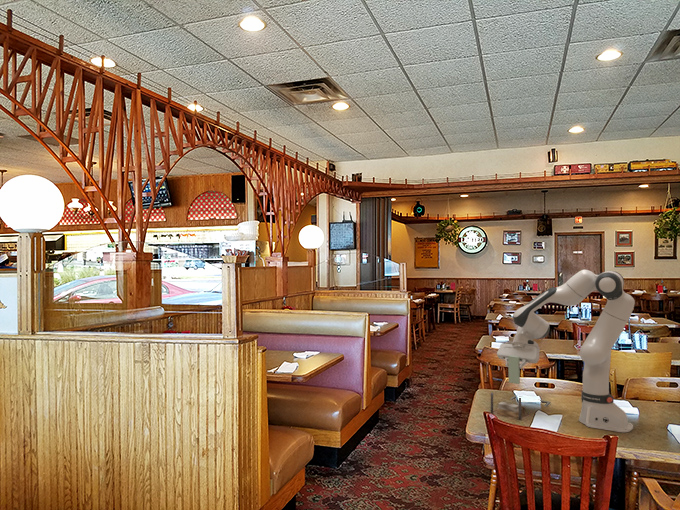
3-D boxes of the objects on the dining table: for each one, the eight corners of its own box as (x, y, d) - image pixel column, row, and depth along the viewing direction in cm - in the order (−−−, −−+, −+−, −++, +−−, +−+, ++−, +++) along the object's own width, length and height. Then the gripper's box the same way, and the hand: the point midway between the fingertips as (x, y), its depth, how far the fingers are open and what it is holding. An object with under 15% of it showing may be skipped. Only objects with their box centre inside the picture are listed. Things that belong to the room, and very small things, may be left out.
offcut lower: (520, 415, 248) (520, 410, 248) (516, 418, 245) (516, 412, 245) (501, 411, 255) (501, 406, 255) (496, 413, 251) (496, 408, 251)
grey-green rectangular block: (519, 383, 252) (519, 356, 252) (518, 384, 251) (518, 357, 251) (509, 381, 256) (509, 355, 256) (508, 382, 255) (508, 356, 255)
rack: (531, 417, 250) (531, 393, 250) (521, 423, 241) (521, 399, 241) (500, 410, 261) (500, 387, 261) (489, 416, 252) (489, 392, 252)
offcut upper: (519, 410, 248) (519, 405, 248) (516, 412, 245) (516, 407, 245) (501, 406, 254) (501, 401, 254) (498, 408, 251) (498, 403, 251)
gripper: (499, 338, 266) (491, 360, 258) (539, 342, 252) (531, 366, 245) (503, 345, 269) (495, 367, 262) (543, 350, 255) (535, 373, 248)
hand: (513, 367), depth 253 cm, fingers closed on grey-green rectangular block, 5 cm apart
